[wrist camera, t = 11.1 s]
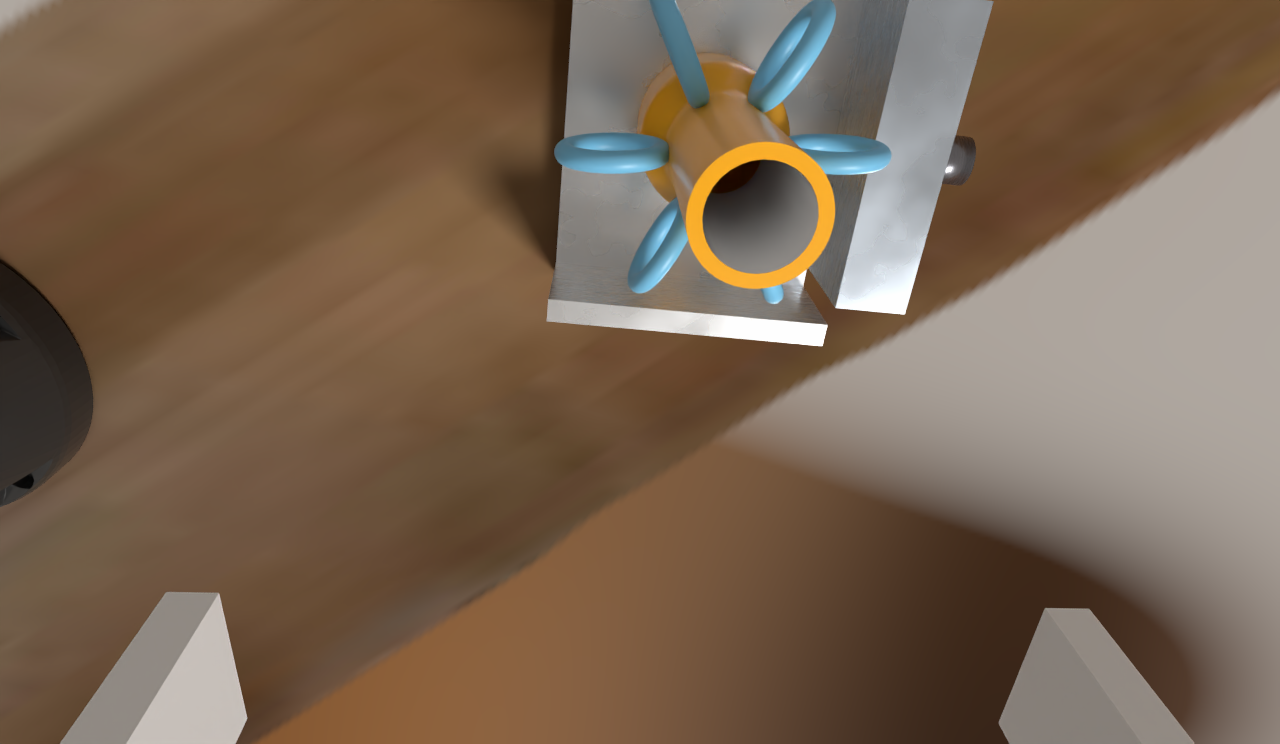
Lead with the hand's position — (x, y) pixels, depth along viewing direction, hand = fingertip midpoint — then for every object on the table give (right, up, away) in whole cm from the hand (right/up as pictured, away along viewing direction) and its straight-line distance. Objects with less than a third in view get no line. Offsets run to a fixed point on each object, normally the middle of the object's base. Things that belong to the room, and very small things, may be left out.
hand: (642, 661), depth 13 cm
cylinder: (+3, +16, +22) cm, 27 cm away
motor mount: (+5, +16, +23) cm, 28 cm away
